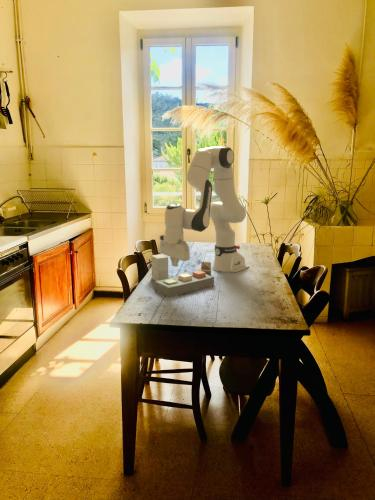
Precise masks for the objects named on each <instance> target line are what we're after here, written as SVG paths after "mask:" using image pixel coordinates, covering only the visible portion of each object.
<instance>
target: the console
mask: <svg viewBox="0 0 375 500" xmlns="http://www.w3.org/2000/svg"><path fill="white" fill-rule="evenodd" d="M188 274H189V275H191V276H192V280H189V281H185V282H184V281H181V280H179V279H178V276H174V277H168V279H163V280H159V281H155V280H154V290H155V291H156V292H158V291H159V292H158V293H160V294H163V296H166V297H169V298H171V297H175V296H178V295H181V294H185V293H191V292H193V291H197V290H201V289H202V290H203V289H206V288H209V287H214V286H215V276H214V275H213V276H212V275H210V274H208V275H207V274H206V277H202V278H196V277H194V276H193V272H191V273H188ZM170 279H173V280H175V281H177V283H176V284H172V285H167V284H165V283H164V282H163V281H165V280H170Z"/></svg>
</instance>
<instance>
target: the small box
mask: <svg viewBox="0 0 375 500" xmlns="http://www.w3.org/2000/svg"><path fill="white" fill-rule="evenodd" d="M168 278H169V257H168V256H167V255H165V254H162V253H161V254H160V253H159V254H151V279H152V280H153V281H154V282H155V281H159V280H163V279H168Z"/></svg>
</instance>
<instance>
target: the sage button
mask: <svg viewBox="0 0 375 500" xmlns="http://www.w3.org/2000/svg"><path fill="white" fill-rule="evenodd" d="M163 282H164V283H165V284H167V285H172V284H176V283H177V281H175V280H173V279H170V280H165V281H163Z"/></svg>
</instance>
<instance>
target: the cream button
mask: <svg viewBox="0 0 375 500" xmlns="http://www.w3.org/2000/svg"><path fill="white" fill-rule="evenodd" d="M189 274H190V273H181V274H178V279H179V280H181V281H184V282H185V281H189V280H192V276H191V275H189Z"/></svg>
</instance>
